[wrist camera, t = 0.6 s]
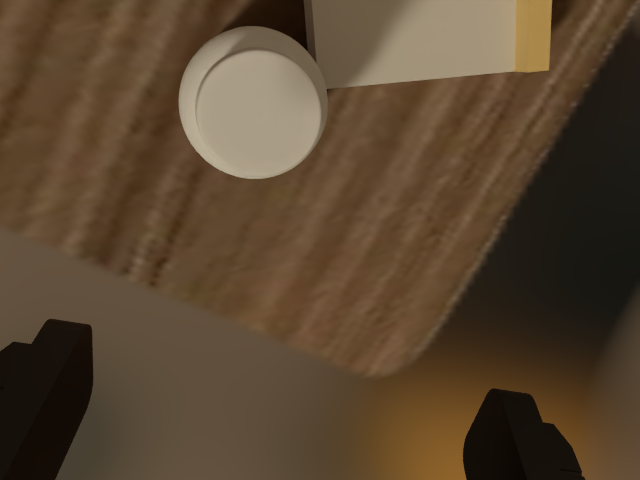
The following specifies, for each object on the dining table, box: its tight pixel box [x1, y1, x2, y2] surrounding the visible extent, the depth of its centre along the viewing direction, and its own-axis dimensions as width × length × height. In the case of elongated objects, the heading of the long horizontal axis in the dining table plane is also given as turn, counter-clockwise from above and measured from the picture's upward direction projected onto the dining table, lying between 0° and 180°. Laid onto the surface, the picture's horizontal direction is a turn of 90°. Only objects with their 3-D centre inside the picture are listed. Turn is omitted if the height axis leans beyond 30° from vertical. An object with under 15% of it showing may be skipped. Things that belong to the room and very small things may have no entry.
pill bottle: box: [179, 26, 328, 179], centre depth 23 cm, size 5×5×10 cm
